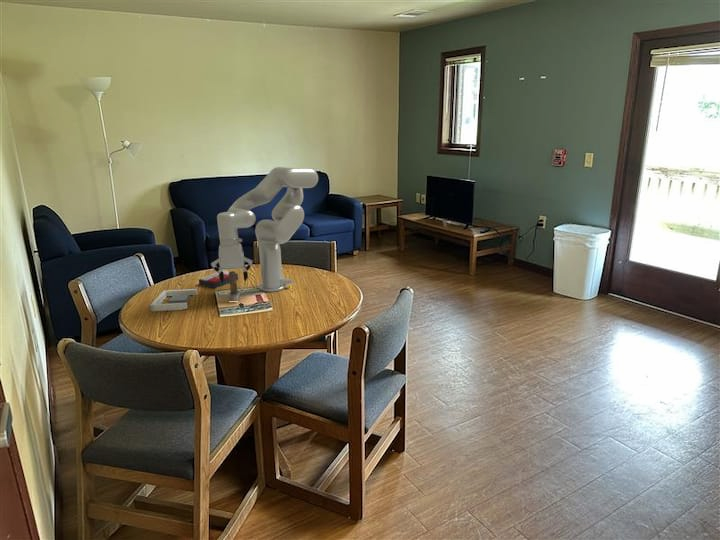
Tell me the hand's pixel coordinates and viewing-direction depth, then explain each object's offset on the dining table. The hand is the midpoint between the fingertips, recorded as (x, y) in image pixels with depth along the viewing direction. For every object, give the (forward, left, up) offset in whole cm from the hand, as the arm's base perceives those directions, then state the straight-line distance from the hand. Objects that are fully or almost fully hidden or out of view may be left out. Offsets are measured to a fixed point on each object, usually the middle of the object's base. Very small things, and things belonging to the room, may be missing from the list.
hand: (234, 280), depth 212 cm
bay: (+26, 0, -9) cm, 27 cm away
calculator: (+12, -26, -9) cm, 30 cm away
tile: (+24, 0, -9) cm, 25 cm away
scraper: (0, +1, -9) cm, 9 cm away
